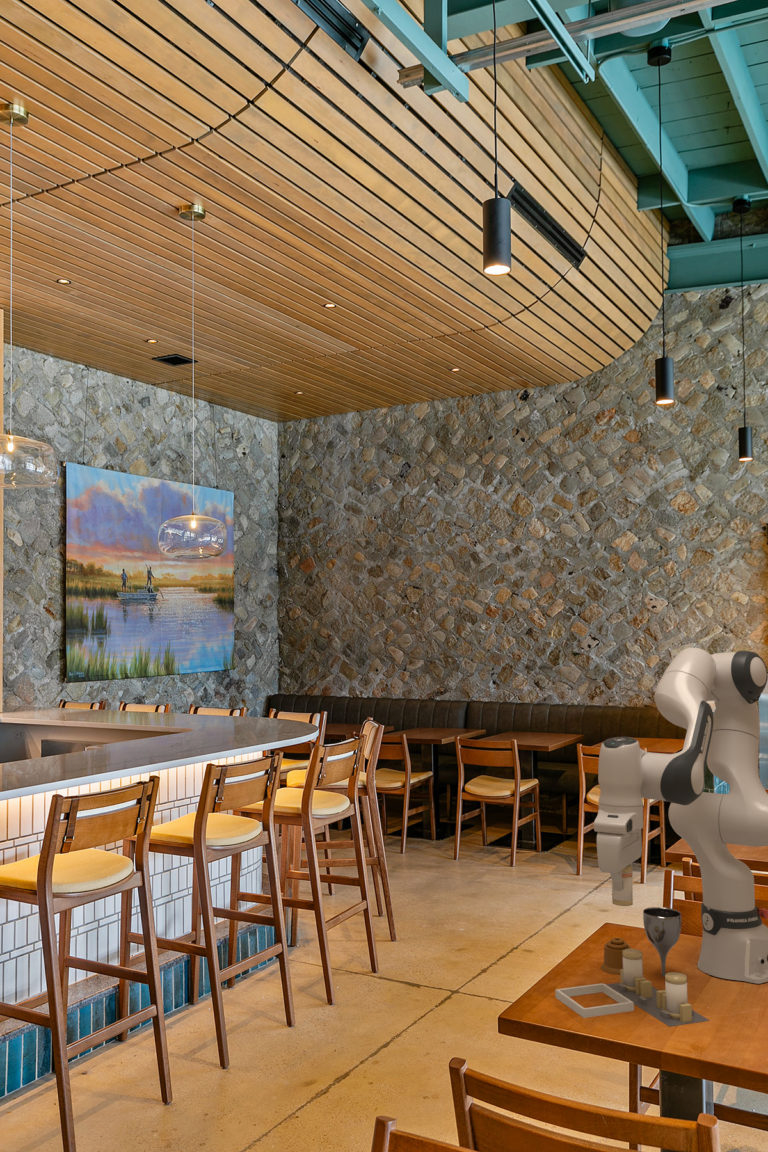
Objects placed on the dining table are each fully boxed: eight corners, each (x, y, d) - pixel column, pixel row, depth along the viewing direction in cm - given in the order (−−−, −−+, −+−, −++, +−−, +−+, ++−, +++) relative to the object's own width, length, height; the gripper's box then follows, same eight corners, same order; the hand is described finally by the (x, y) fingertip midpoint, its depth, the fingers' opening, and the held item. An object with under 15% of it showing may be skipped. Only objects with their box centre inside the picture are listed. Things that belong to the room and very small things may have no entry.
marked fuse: (615, 900, 192) (614, 862, 193) (635, 902, 190) (634, 864, 191) (609, 904, 188) (609, 866, 189) (629, 907, 186) (629, 868, 187)
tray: (603, 998, 194) (603, 983, 194) (634, 1018, 183) (633, 1002, 184) (555, 1004, 191) (555, 989, 191) (583, 1025, 180) (583, 1009, 180)
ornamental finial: (620, 968, 212) (642, 979, 205) (593, 973, 209) (615, 984, 202) (619, 932, 212) (641, 941, 206) (592, 936, 209) (614, 946, 203)
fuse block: (641, 987, 200) (640, 965, 200) (710, 1028, 178) (709, 1004, 179) (604, 992, 197) (603, 970, 198) (669, 1034, 176) (669, 1010, 176)
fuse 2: (679, 1010, 183) (678, 971, 184) (692, 1018, 180) (691, 977, 180) (662, 1013, 182) (661, 973, 183) (674, 1020, 178) (673, 980, 179)
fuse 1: (636, 984, 198) (635, 947, 198) (647, 990, 194) (646, 953, 194) (619, 986, 196) (618, 949, 197) (630, 993, 193) (629, 955, 193)
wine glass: (642, 986, 200) (641, 915, 201) (646, 974, 208) (645, 905, 209) (681, 991, 197) (679, 919, 198) (684, 979, 205) (682, 909, 206)
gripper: (619, 810, 201) (620, 876, 200) (591, 823, 184) (591, 896, 182) (648, 812, 198) (650, 879, 197) (623, 826, 180) (624, 900, 179)
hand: (621, 887), depth 189 cm, fingers closed on marked fuse, 4 cm apart
